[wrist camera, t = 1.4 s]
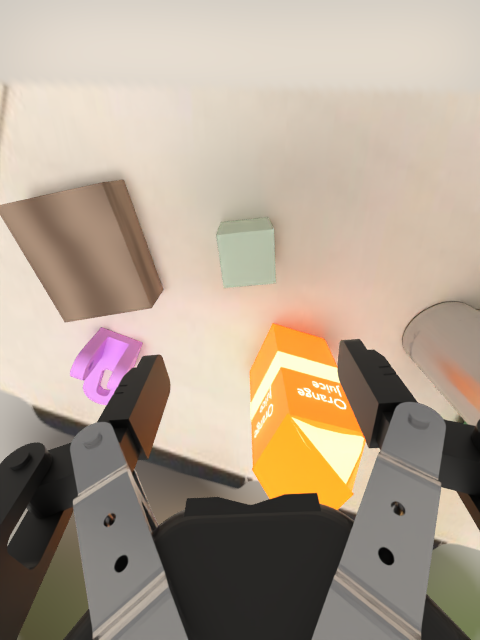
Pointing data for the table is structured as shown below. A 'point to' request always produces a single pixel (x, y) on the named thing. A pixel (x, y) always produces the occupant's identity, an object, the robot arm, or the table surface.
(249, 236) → the sage block
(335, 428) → the orange juice
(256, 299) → the table surface
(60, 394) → the table surface
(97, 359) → the bracket
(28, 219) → the plate
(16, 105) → the table surface
